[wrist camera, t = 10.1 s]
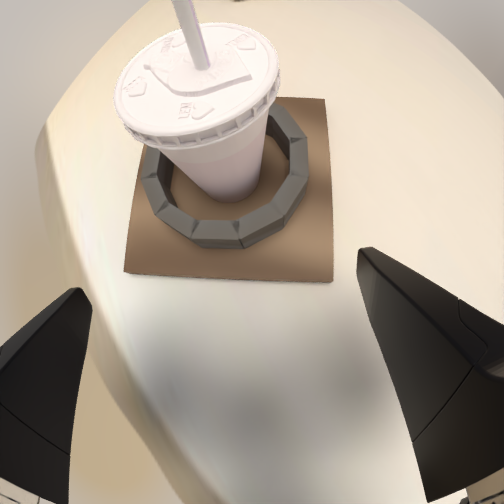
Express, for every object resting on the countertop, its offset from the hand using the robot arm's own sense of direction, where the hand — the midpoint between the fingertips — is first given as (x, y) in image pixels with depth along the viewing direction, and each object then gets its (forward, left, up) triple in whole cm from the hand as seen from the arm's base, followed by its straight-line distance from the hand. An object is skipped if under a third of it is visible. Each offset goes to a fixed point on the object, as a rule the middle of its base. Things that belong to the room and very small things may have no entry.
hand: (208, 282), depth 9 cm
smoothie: (+7, +1, -9) cm, 11 cm away
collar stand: (+7, +1, -9) cm, 12 cm away
